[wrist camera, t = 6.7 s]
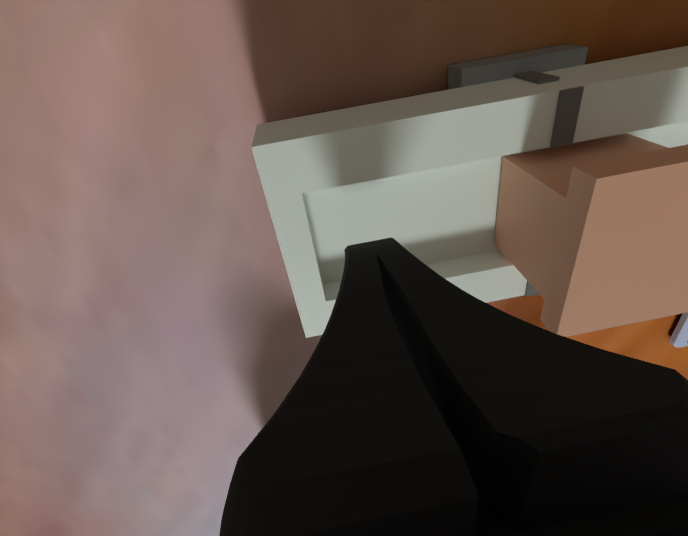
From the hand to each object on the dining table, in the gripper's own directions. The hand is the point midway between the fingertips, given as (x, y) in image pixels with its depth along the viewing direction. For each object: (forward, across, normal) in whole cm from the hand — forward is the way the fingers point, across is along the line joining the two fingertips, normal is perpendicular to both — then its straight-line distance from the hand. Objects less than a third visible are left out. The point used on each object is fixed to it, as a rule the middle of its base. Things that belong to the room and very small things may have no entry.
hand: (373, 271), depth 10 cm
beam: (+5, -6, 0) cm, 8 cm away
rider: (+2, -7, 0) cm, 7 cm away
